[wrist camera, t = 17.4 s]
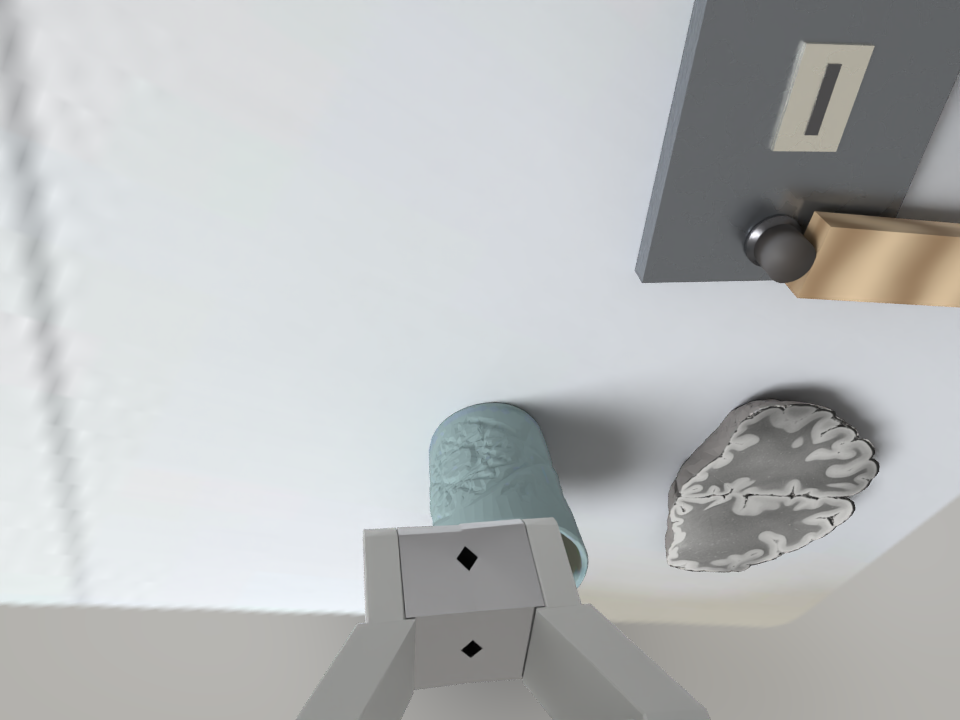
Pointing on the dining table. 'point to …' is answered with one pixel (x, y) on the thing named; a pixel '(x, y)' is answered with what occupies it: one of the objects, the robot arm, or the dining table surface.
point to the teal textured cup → (498, 475)
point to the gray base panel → (792, 124)
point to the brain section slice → (765, 486)
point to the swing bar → (865, 259)
